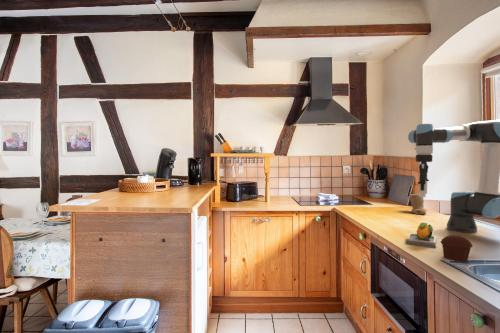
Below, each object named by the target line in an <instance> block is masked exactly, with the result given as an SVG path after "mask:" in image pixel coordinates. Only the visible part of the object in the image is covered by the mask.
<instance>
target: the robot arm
mask: <svg viewBox="0 0 500 333" xmlns="http://www.w3.org/2000/svg"><path fill="white" fill-rule="evenodd" d="M407 136H408V137H407V138H408V142H410V143H411V144H415V148H414V150H415V154H416V155H415V162H416V163H419V166H418V169H419V171H418V172H419V181H418V182H417V184H418V185H419V186H418V187H419V188H418V189H419V190H418V191H419V192H418V194H419V197H423V198H426V195H427V194H428V182H429V181H430V180H429V179H428V172H429V165H428V163H432V162H433V153H434V152H433V150H434V148H433V147H434V145H433V144H436V143H437V144H440V143H441V144H442V143H443V144H445V143H449V142H450V141H459V142H477V143H478V142H479V143H480V145H481V146H482V147H483V149H482V150H483V151H482V157H481V165H480V173H479V182H478V189H476V190H474V191H454V192H452V193H451V195H450V215H449V216H450V217H449V218H448V220H447V223H446V228H447V229H446V230H450V231H455V232H458V233H476V232H478V226H477V224H476V220H475V218H474V217H475V216H478V217H484V218H488V219H497V218H499V217H500V191H498V190H499V183H500V119H495V120H493V119H492V120H483V121H476V122H471V123H467V124H460V125H457V126H454V127H453V126H452V127H451V126H449V127H434V125H433V123H421V124H420V123H419V124H417V125H416V129H415V130H411V131H409V133H408V134H407Z"/></svg>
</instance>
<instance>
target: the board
mask: <svg viewBox="0 0 500 333" xmlns="http://www.w3.org/2000/svg"><path fill="white" fill-rule="evenodd" d="M416 234H417V233H412V232H411V233H410V232H409V233H408V236H407V237H406V240H405V244H408V245H414V246H420V247H425V248H427V247H428V248H433V249H434V248H437V236H435V235H432V236H431V237H430V239H429V240H428V237H426V238H421V239H420V238H418V237H417V235H416Z"/></svg>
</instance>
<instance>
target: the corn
mask: <svg viewBox="0 0 500 333" xmlns="http://www.w3.org/2000/svg"><path fill="white" fill-rule="evenodd" d="M433 232H434V228H433V225H431V224H430V223H429V224H428V222H424V221H423V222H420V223H419V225H418V227H417V230H416V233H415V234H416V235H417V237H418V238H420V239H421V238H426V237H428V240H429V239H430V237H431V236H433Z"/></svg>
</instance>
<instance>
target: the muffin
mask: <svg viewBox="0 0 500 333" xmlns="http://www.w3.org/2000/svg"><path fill="white" fill-rule="evenodd" d="M440 243H441V244H442V245H441V246H442V251H443V258H445V259H446V260H448V261H452V260H454V261H453V262H457V261H460V262H459V263H464V262H468V261H469V260H468V259H469V256H470V253H471V248H472V247H473V244H472V242H471V241H470V240H469V239H467V238H466V237H465V236H463V235H462V236H461V235H457V234H449V235H446V236H444V237H443V238H442V239H441V241H440Z"/></svg>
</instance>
